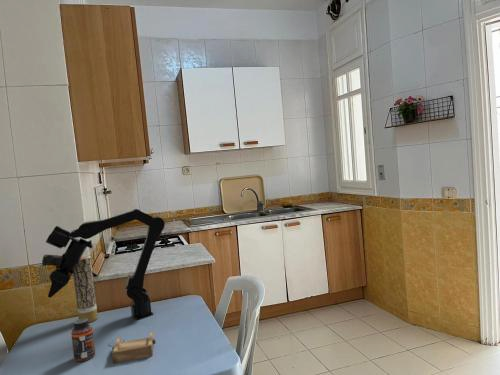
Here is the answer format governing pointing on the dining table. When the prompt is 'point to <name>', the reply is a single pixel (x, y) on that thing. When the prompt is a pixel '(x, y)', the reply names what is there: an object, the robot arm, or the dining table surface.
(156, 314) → the dining table surface
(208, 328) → the dining table surface
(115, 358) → the holder
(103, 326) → the dining table surface
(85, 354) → the supplement bottle
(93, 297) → the paper tube
